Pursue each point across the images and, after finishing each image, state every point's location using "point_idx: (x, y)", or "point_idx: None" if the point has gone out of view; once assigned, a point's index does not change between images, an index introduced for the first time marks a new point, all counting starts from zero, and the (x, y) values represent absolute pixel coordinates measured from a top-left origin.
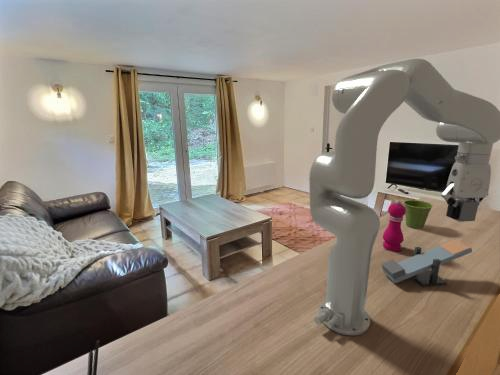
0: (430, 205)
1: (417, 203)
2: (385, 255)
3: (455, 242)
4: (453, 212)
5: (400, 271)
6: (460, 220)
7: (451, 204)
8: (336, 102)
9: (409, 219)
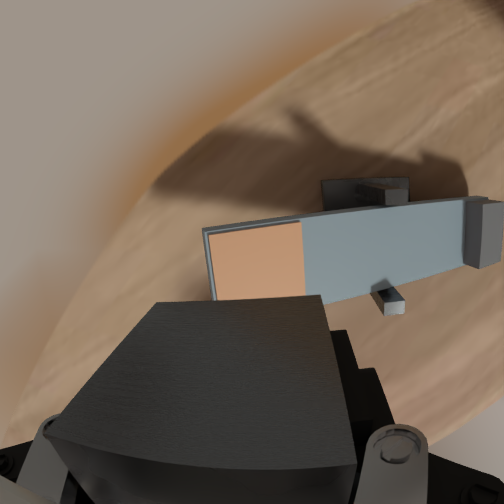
0: None
1: None
2: (393, 360)
3: None
4: (366, 388)
5: (488, 202)
6: (316, 299)
7: (428, 460)
8: None
9: None
